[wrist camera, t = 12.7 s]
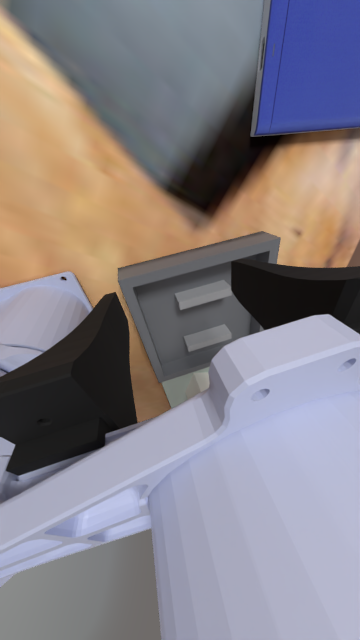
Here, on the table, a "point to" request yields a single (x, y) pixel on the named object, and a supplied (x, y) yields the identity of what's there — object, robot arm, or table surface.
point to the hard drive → (308, 67)
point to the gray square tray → (192, 302)
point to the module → (197, 384)
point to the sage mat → (179, 387)
